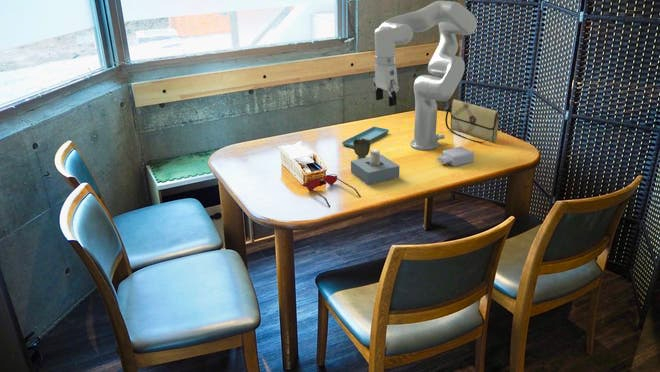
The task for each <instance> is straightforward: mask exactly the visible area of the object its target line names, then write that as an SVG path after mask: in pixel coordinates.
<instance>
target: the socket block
mask: <svg viewBox="0 0 660 372" xmlns="http://www.w3.org/2000/svg"><path fill="white" fill-rule="evenodd" d="M400 168H401V167H400V165H399V164H397V163H396V162H395V161H392V160H391V159H390V158H388V157H386V156H385V155H383V154H380V166H375V167H371V166H370V156H369V157H367V156H366V158H362V159H358V158H357V159H353V160H350V173H351V174H353V175H354V176H355V177H356V178H358V179H359V180H361V181H362V182H363V183H365V184H366V185H367V186H369V185H374V184H378V183H379V184H380V183H383V182H387V181H391V180H395V179H400Z"/></svg>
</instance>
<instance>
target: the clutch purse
mask: <svg viewBox="0 0 660 372" xmlns="http://www.w3.org/2000/svg"><path fill="white" fill-rule="evenodd" d="M500 112H501V111H499V110H494V109H490V108H488V107H483V106H479V105H476V104H473V103H468V102H465V101H462V100H458V99H455V98H452V99H451V102H450V105H449V106H448V107H447V110H446V114H445V126H446V128H447V130H448V131H450V132H451V133H453V134H454V135H456V136H458V137H460V138H463V139H466V140H469V141H471V142H475V143H478V144H483V143H485V142H487V141H488V142H491V143H494V144H495V143H496V142H497V137H498V131H499V127H500V125H499V124H501V123H500V122H501V121H500V119H501V118H500V115H501V113H500ZM449 115H450V124H448V117H449ZM449 125H450V127H449ZM456 131H457V132H460V133H463V134H466V135H469V136H473V137H475V138H479V139H481V140H484V141H479V140H475V139H471V138H468V137H466V136H463V135H461V134H459V133H457V132H456Z"/></svg>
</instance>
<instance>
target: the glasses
mask: <svg viewBox="0 0 660 372" xmlns="http://www.w3.org/2000/svg"><path fill="white" fill-rule="evenodd" d="M322 178H323V181H324V183H325V185H327V184H328V185H329V186H333V185H335V183H336V182H337V181H339V182H341V183H342V184H345V185H346V186H347V187H349V188H350V189H351V188H352V189H353V190H354V191H355V192H356V194H357V195H358V197H359V198H362V196H361V194H360V193H359V191H358V190H357V189H356V188H355V187H354V186H352V185H350V184H348V183H346V182H345V181H343V180H342V179H340V178H338V175H337V174H335V173H333V174H332V173H331V174H326V175H324V176H321V177H316V178H313V179H312V180H311V179H310V180H308V181H307V184H306V185H305V187H306V188H307V190H308V192H311V191H313V192H314V193H316V195H319V196H320V197H322V198H323V199H324V201H325V202H326V204H327V206H328V208H331V205H330V203H329V201H328V200H327V198H326V197H325V196H323V195H322V194H321V193H319V192H318V191H316V190H314V189H317V187H319V186H320V187H321V186H322V184H323V183H322V182H321V179H322Z"/></svg>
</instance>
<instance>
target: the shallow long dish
mask: <svg viewBox="0 0 660 372" xmlns="http://www.w3.org/2000/svg"><path fill="white" fill-rule="evenodd" d="M389 131H390V129H387V128H384V127H379V126H372V127H370V128H367V129H366V130H364V131H362V132H360V133H358V134H355V135H353V136H352V137H350V138H347V139H345V140H343V141H342V142H341V144H342V145H343V146H344V147H347V148H351V149H354V145H353V142H354V140H355V139H358V140H359V138H360V140H361V139H362V138H363V139H364V138H365V140H367V139H368V140H369V139H370V141H371V142H370V143H372V142H374V141H376V140H378V139H379V138H381V137H384V136H385V135H387V134H388V133H389Z"/></svg>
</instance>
